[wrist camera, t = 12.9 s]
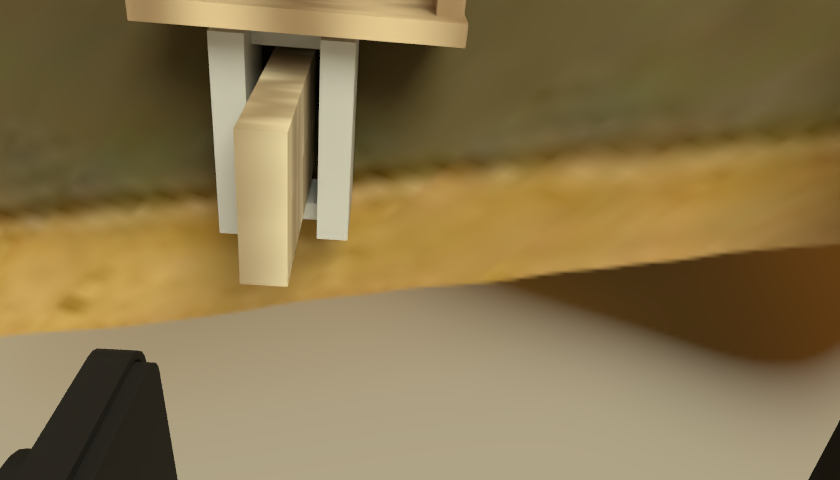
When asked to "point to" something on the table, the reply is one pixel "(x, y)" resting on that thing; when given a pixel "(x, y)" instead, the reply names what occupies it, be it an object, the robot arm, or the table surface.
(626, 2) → the table surface
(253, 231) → the wooden board
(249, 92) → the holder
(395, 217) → the table surface
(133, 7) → the rack
